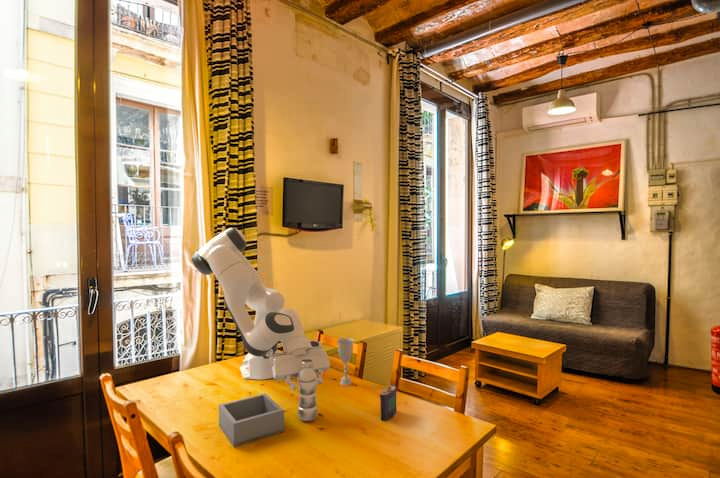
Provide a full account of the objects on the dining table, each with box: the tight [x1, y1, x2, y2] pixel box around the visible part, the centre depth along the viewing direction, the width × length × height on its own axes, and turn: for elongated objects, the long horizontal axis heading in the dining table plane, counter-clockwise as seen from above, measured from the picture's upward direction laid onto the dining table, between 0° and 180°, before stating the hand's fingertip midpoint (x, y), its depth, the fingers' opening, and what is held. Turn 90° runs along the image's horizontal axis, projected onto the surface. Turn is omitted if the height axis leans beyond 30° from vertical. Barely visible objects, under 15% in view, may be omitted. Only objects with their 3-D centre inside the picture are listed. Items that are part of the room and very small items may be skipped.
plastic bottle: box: [296, 359, 319, 422], centre depth 136 cm, size 6×7×20 cm
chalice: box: [336, 337, 355, 386], centre depth 168 cm, size 7×7×18 cm
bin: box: [218, 393, 285, 448], centre depth 130 cm, size 16×16×7 cm
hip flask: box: [379, 384, 397, 422], centre depth 138 cm, size 9×3×11 cm, turn 148°
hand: (307, 386), depth 135 cm, fingers open, 8 cm apart
